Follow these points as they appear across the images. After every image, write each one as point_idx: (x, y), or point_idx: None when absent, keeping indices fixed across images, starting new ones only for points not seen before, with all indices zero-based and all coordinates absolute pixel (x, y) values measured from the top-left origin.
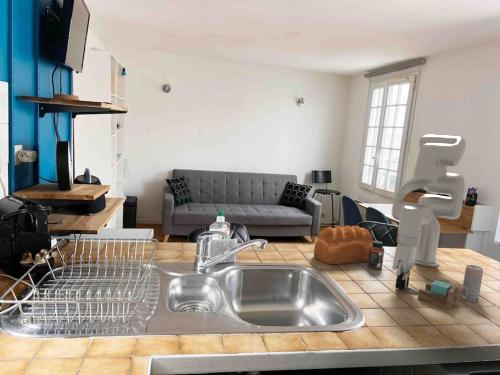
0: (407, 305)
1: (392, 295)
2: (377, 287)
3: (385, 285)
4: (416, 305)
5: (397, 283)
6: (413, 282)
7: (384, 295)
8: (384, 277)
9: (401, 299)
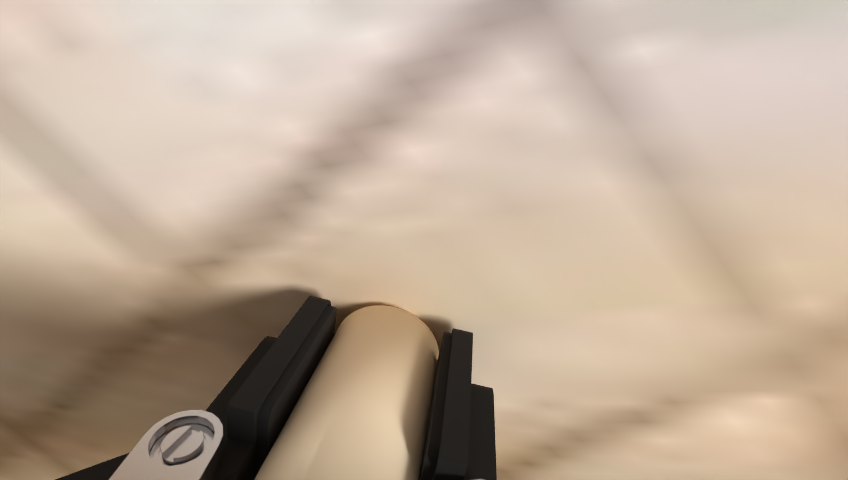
0: (18, 409)
1: (96, 280)
2: (164, 58)
3: (348, 150)
4: (92, 464)
5: (247, 363)
6: (747, 452)
7: (6, 203)
8: (774, 49)
9: (88, 363)
